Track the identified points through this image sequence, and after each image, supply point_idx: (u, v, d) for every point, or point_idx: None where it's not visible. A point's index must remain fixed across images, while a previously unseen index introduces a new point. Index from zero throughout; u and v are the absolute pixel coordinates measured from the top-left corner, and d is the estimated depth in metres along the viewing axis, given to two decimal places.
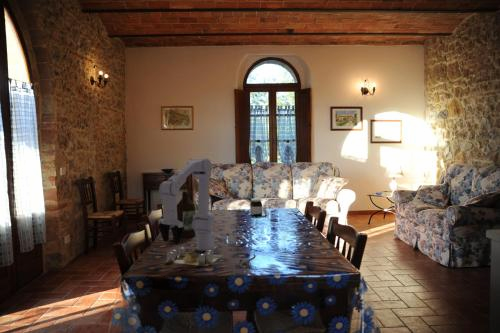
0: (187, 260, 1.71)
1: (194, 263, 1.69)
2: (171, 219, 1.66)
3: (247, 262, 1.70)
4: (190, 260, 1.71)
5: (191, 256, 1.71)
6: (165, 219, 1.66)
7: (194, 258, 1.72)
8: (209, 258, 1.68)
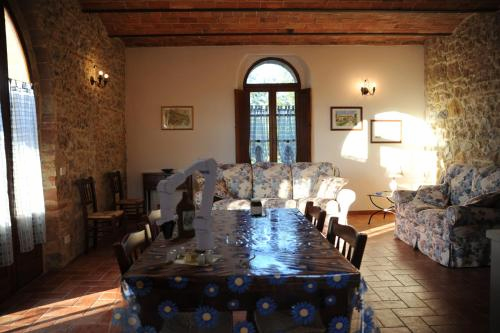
0: (187, 260, 1.71)
1: (194, 263, 1.69)
2: (161, 216, 1.74)
3: (247, 262, 1.70)
4: (190, 260, 1.71)
5: (191, 256, 1.71)
6: None
7: (194, 258, 1.72)
8: (209, 258, 1.68)
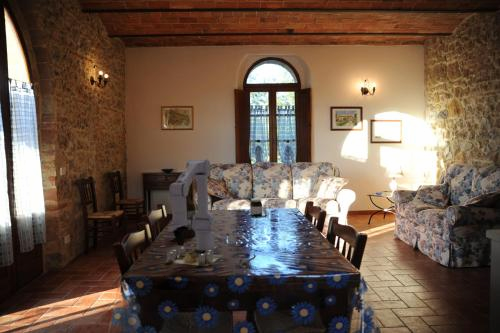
0: (187, 260, 1.71)
1: (194, 263, 1.69)
2: (173, 221, 1.63)
3: (247, 262, 1.70)
4: (190, 260, 1.71)
5: (191, 256, 1.71)
6: None
7: (194, 258, 1.72)
8: (209, 258, 1.68)
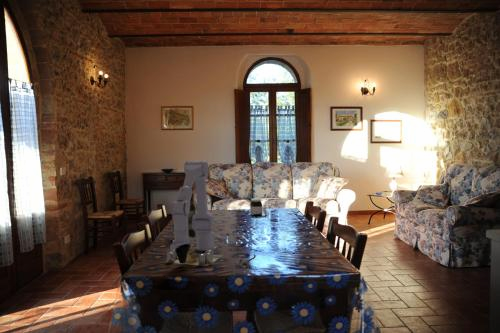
0: (187, 260, 1.71)
1: (194, 263, 1.69)
2: (175, 239, 1.64)
3: (247, 262, 1.70)
4: (190, 260, 1.71)
5: (191, 256, 1.71)
6: None
7: (194, 258, 1.72)
8: (209, 258, 1.68)
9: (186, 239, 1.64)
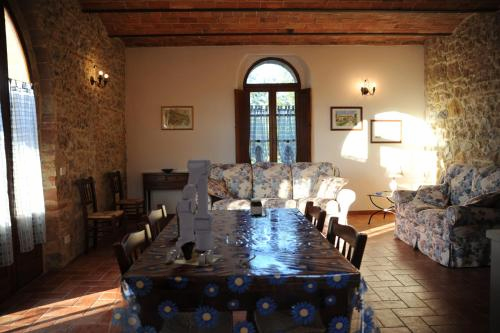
0: (188, 260, 1.72)
1: (194, 263, 1.69)
2: (181, 237, 1.68)
3: (247, 262, 1.70)
4: (191, 260, 1.71)
5: (192, 256, 1.71)
6: None
7: (195, 258, 1.72)
8: (209, 258, 1.68)
9: (191, 237, 1.68)
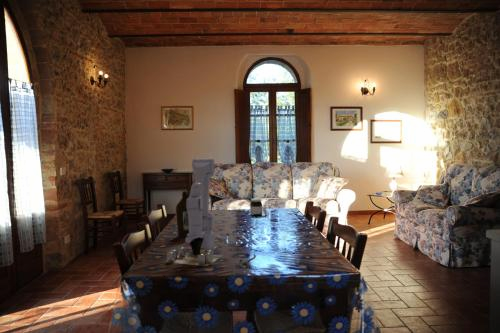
0: None
1: (194, 263, 1.69)
2: (190, 233, 1.75)
3: (247, 262, 1.70)
4: None
5: (200, 251, 1.78)
6: None
7: (203, 253, 1.79)
8: (209, 258, 1.68)
9: (200, 233, 1.75)
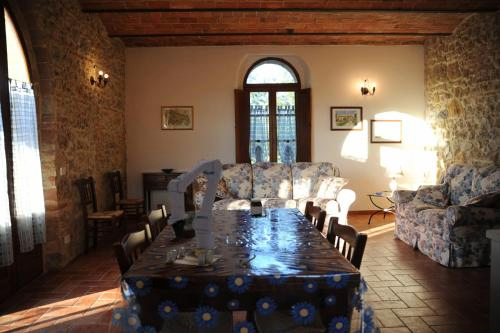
0: (196, 255, 1.79)
1: (194, 263, 1.69)
2: (172, 215, 1.75)
3: (247, 262, 1.70)
4: None
5: (200, 251, 1.78)
6: None
7: (203, 253, 1.79)
8: (209, 258, 1.68)
9: (182, 215, 1.76)
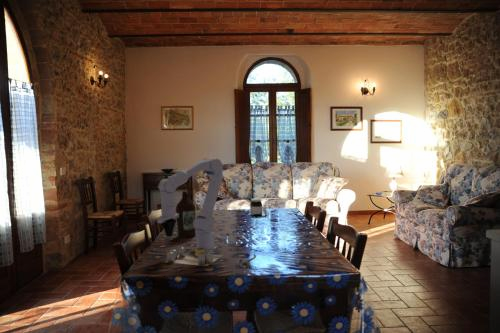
0: (196, 255, 1.79)
1: (194, 263, 1.69)
2: (162, 214, 1.78)
3: (247, 262, 1.70)
4: None
5: (200, 251, 1.78)
6: None
7: (203, 253, 1.79)
8: (209, 258, 1.68)
9: (172, 214, 1.79)
